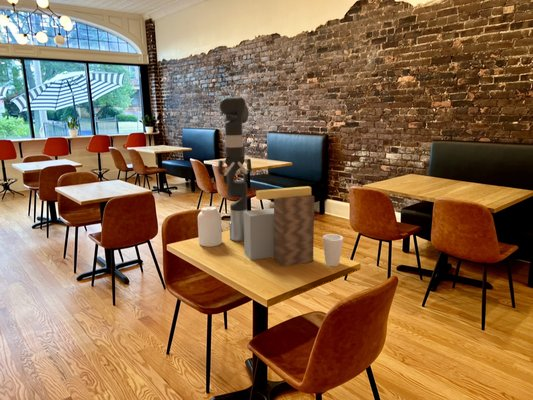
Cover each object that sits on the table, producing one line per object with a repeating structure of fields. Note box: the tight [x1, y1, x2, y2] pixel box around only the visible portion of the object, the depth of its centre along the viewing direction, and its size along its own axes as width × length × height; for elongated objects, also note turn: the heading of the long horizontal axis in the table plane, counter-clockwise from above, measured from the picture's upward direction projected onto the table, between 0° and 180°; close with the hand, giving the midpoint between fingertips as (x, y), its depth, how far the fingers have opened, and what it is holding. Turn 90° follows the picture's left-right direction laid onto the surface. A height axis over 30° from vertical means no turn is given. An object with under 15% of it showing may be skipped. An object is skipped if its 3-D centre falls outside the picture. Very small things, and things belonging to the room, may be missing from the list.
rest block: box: [243, 207, 274, 261], centre depth 197 cm, size 16×10×22 cm, turn 111°
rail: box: [255, 185, 312, 201], centre depth 182 cm, size 26×4×4 cm, turn 111°
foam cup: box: [322, 233, 344, 267], centre depth 186 cm, size 10×9×13 cm
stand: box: [273, 194, 315, 267], centre depth 188 cm, size 16×10×32 cm, turn 111°
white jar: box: [197, 206, 223, 248], centre depth 215 cm, size 12×12×20 cm
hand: (235, 183), depth 173 cm, fingers open, 8 cm apart
